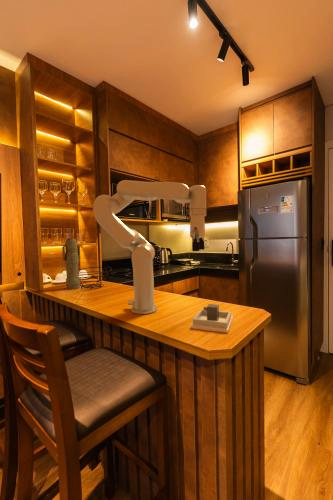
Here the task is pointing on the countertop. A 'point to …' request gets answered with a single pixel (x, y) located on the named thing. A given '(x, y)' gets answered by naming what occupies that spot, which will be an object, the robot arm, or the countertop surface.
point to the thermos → (71, 263)
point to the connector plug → (212, 312)
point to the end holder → (204, 324)
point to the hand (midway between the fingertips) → (198, 250)
